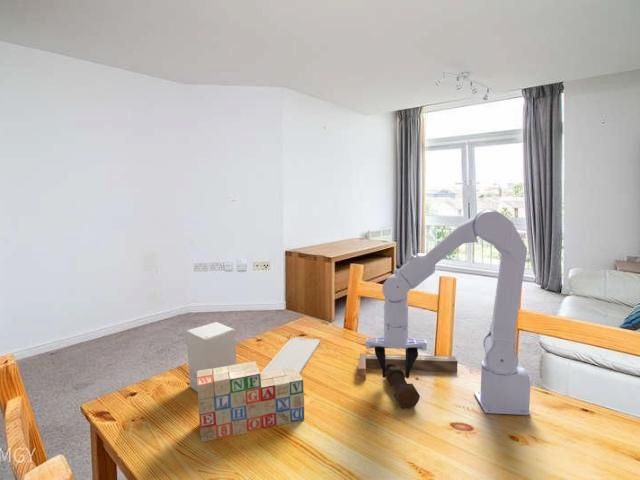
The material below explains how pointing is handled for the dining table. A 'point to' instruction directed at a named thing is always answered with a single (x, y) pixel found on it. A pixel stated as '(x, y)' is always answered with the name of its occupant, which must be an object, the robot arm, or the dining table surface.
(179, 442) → the dining table surface
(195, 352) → the supplement box
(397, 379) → the bolt
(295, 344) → the baseboard molding
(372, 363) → the walnut fence
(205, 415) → the stack of blocks
